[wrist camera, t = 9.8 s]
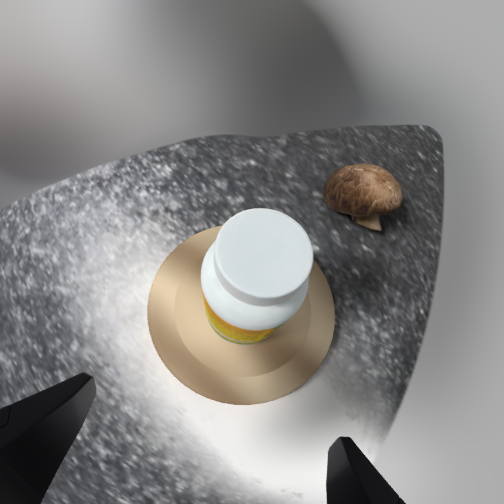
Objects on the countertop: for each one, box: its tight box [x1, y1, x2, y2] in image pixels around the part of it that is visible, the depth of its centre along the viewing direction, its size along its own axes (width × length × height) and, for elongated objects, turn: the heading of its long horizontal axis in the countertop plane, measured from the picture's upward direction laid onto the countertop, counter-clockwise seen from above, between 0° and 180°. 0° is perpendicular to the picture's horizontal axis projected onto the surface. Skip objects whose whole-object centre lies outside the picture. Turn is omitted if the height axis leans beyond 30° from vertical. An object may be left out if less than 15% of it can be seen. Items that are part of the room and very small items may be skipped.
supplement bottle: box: [201, 208, 313, 345], centre depth 15 cm, size 5×5×10 cm
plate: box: [148, 226, 335, 405], centre depth 20 cm, size 14×14×1 cm
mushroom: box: [323, 164, 403, 231], centre depth 24 cm, size 8×8×6 cm
